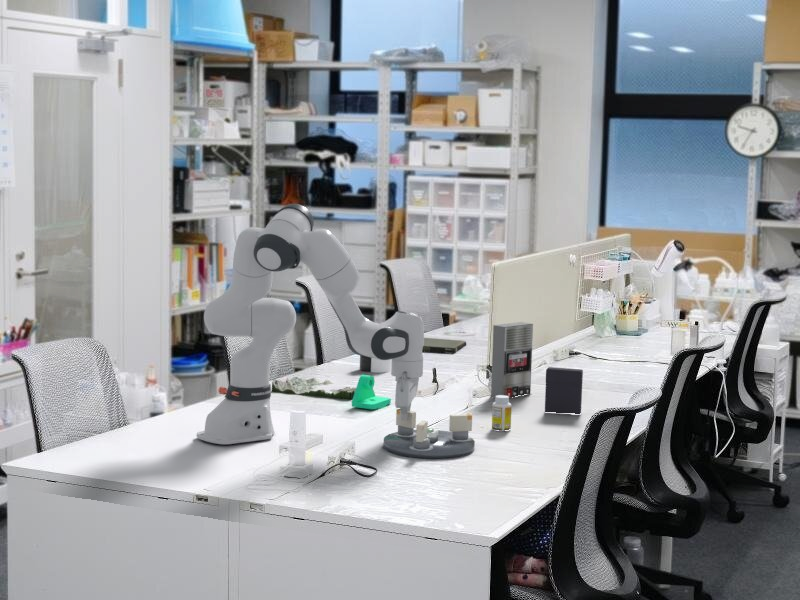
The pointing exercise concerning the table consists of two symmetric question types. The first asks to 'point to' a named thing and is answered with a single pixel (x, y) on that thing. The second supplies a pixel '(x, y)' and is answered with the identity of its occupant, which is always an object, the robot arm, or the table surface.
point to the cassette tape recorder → (511, 359)
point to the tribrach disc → (439, 445)
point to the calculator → (563, 390)
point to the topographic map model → (301, 388)
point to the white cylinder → (380, 365)
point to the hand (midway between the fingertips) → (405, 418)
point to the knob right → (460, 426)
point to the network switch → (442, 345)
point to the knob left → (421, 436)
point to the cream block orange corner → (406, 423)
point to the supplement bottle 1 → (365, 363)
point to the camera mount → (368, 395)
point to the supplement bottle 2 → (501, 413)
